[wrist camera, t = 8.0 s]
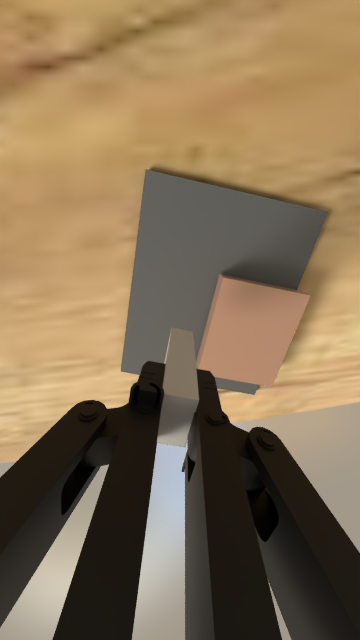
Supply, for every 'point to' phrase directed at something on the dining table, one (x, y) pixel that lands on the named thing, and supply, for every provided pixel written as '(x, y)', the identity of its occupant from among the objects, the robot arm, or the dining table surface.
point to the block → (249, 329)
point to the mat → (206, 259)
